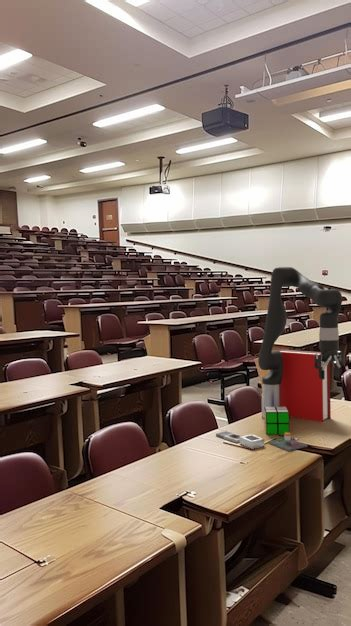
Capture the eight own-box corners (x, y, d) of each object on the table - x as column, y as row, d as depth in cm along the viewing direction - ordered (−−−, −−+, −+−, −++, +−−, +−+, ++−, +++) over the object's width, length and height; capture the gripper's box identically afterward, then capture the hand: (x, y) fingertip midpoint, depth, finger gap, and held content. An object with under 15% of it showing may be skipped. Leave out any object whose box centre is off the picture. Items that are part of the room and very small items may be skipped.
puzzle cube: (286, 428, 220) (286, 406, 219) (289, 434, 210) (289, 412, 209) (264, 428, 221) (263, 406, 220) (266, 434, 211) (265, 412, 210)
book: (330, 418, 233) (329, 352, 232) (323, 422, 227) (322, 354, 226) (280, 410, 252) (279, 349, 250) (272, 413, 246) (271, 351, 244)
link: (239, 443, 199) (239, 436, 199) (252, 441, 202) (251, 434, 202) (251, 449, 192) (251, 441, 192) (264, 446, 195) (264, 439, 195)
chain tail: (215, 436, 211) (215, 433, 210) (226, 433, 214) (226, 430, 214) (236, 443, 200) (236, 440, 200) (247, 439, 204) (247, 437, 204)
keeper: (268, 443, 199) (268, 431, 198) (286, 439, 204) (286, 427, 203) (288, 451, 188) (288, 438, 188) (307, 446, 193) (307, 434, 193)
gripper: (333, 336, 203) (334, 374, 204) (309, 339, 196) (309, 378, 197) (348, 337, 196) (348, 377, 197) (323, 340, 189) (324, 381, 190)
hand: (329, 377), depth 197 cm, fingers open, 8 cm apart
